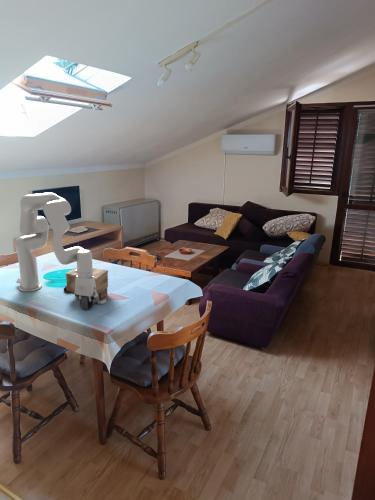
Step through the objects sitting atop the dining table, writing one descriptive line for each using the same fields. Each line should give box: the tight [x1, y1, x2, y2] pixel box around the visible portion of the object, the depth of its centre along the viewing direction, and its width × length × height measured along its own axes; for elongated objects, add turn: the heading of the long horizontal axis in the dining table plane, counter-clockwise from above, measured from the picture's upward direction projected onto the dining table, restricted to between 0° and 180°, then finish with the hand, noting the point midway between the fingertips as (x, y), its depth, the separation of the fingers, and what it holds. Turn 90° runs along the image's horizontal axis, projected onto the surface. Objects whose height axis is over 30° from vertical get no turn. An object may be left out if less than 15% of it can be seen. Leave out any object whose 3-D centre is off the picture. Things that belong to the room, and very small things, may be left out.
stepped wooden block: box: [65, 267, 109, 299], centre depth 201 cm, size 19×13×15 cm
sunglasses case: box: [63, 285, 75, 295], centre depth 215 cm, size 18×7×7 cm, turn 161°
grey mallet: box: [80, 296, 99, 310], centre depth 192 cm, size 4×13×7 cm, turn 163°
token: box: [96, 297, 107, 306], centre depth 196 cm, size 5×5×2 cm
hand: (86, 306), depth 189 cm, fingers closed on grey mallet, 4 cm apart
